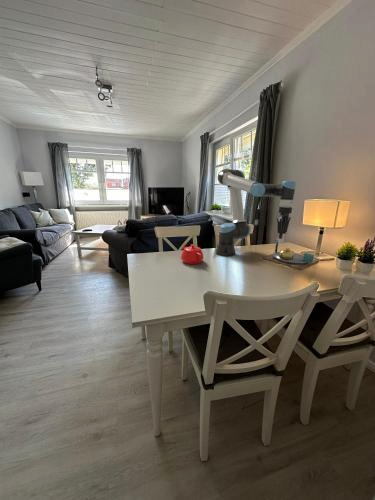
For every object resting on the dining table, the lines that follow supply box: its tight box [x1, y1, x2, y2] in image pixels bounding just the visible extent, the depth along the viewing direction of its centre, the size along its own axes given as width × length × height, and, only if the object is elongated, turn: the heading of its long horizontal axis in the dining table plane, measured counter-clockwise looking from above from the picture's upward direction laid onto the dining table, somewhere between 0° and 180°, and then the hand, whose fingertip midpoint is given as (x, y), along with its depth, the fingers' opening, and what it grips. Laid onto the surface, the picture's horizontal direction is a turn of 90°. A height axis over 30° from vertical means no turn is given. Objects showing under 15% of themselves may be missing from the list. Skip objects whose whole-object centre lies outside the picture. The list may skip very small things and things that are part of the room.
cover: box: [279, 247, 295, 260], centre depth 149 cm, size 9×9×7 cm
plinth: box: [261, 253, 320, 271], centre depth 154 cm, size 28×28×1 cm
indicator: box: [274, 237, 279, 253], centre depth 166 cm, size 2×2×11 cm
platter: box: [272, 251, 315, 264], centre depth 152 cm, size 27×24×6 cm
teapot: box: [180, 243, 204, 265], centre depth 146 cm, size 25×16×12 cm, turn 31°
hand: (280, 243), depth 139 cm, fingers closed
